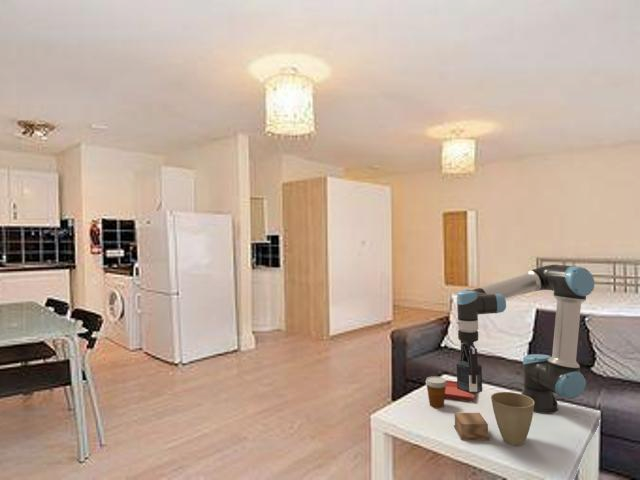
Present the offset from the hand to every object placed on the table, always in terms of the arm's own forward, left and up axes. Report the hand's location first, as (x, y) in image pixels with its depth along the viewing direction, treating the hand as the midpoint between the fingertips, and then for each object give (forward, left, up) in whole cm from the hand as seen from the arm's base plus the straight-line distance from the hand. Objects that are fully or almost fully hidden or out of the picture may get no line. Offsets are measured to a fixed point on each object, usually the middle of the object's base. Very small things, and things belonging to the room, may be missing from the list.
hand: (469, 386), depth 159 cm
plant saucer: (-4, -40, -19) cm, 45 cm away
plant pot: (-14, +5, -19) cm, 24 cm away
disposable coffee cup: (+8, -26, -19) cm, 33 cm away
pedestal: (0, 0, -19) cm, 19 cm away
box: (0, 0, -2) cm, 2 cm away
